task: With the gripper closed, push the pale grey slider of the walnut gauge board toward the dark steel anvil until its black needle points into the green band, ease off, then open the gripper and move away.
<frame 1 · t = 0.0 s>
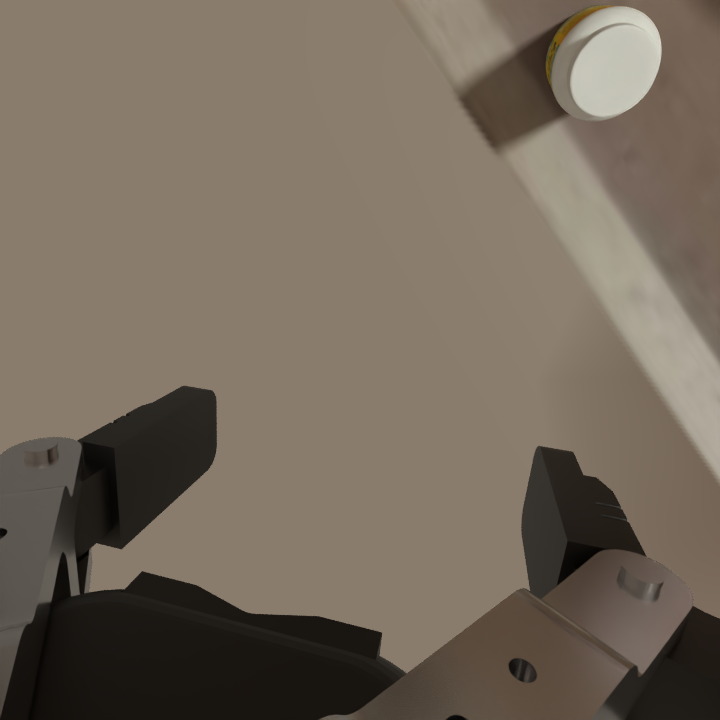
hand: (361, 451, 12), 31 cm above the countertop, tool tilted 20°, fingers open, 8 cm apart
supplement bottle: (588, 54, 31), on the countertop
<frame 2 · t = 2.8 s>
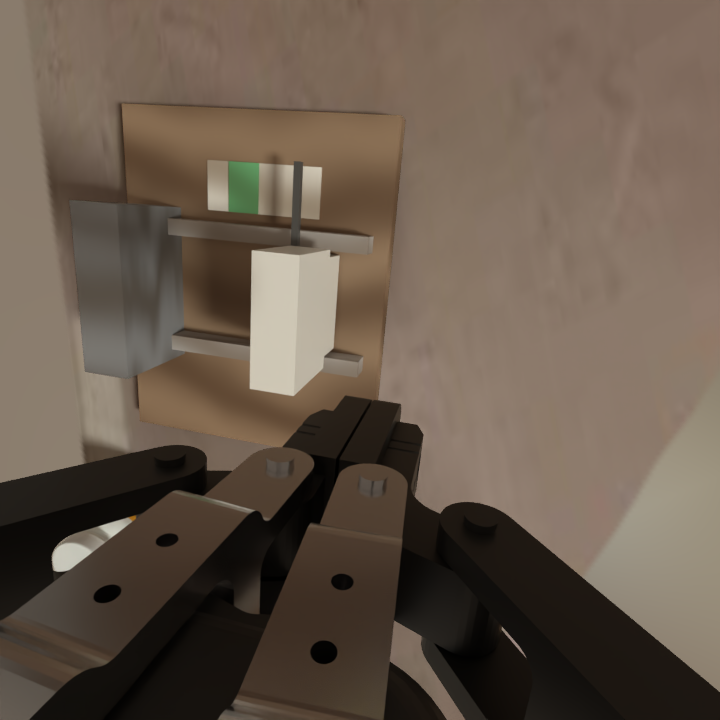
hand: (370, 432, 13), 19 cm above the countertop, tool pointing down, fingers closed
gauge slider: (287, 270, 27), point 6 cm above the countertop, slide at 0.0 cm
gauge board: (260, 289, 33), on the countertop
supplement bottle: (168, 491, 40), on the countertop
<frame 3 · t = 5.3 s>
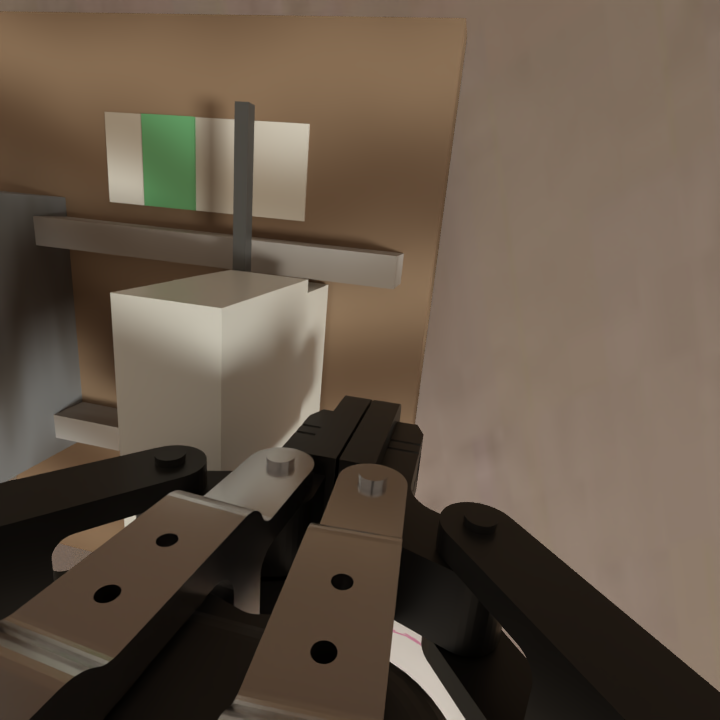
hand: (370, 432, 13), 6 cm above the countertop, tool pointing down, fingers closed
teacup: (373, 698, 24), on the countertop
gauge slider: (221, 319, 13), point 6 cm above the countertop, slide at 0.5 cm, touching gripper
gauge board: (207, 335, 20), on the countertop
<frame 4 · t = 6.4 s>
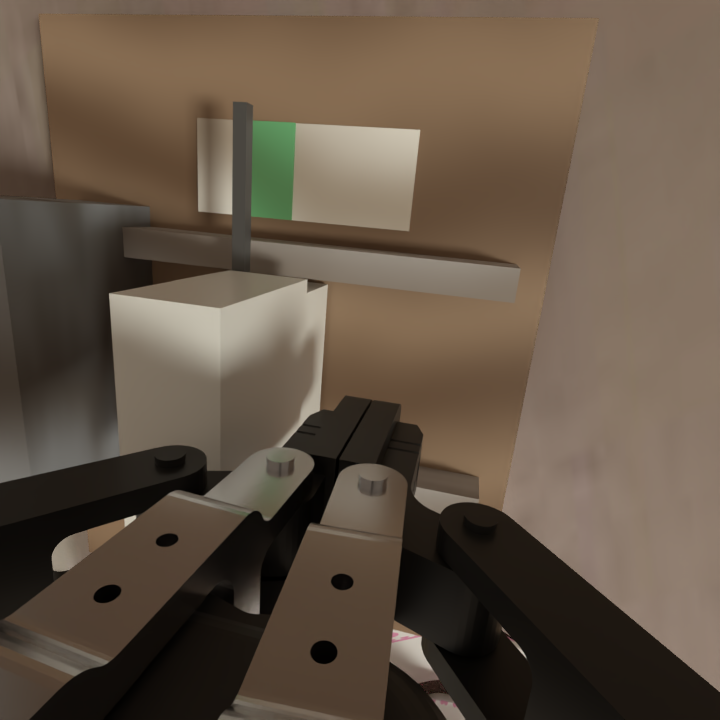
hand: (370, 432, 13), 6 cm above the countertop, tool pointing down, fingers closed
teacup: (450, 713, 23), on the countertop
gauge slider: (220, 320, 13), point 6 cm above the countertop, slide at 4.1 cm, touching gripper
gauge board: (288, 348, 19), on the countertop
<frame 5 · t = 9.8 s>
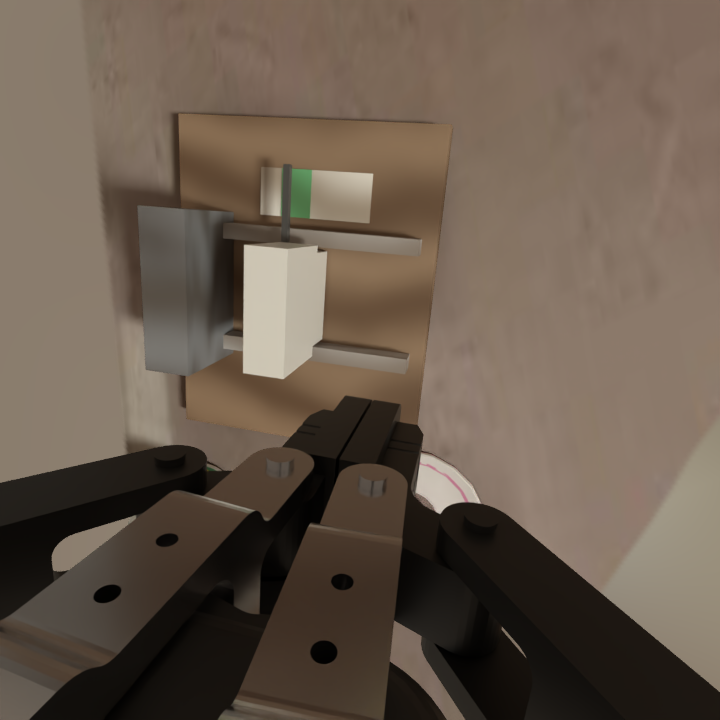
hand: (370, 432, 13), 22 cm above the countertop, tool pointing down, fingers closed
teacup: (407, 515, 38), on the countertop
gauge slider: (277, 264, 29), point 6 cm above the countertop, slide at 4.2 cm
gauge board: (307, 290, 35), on the countertop
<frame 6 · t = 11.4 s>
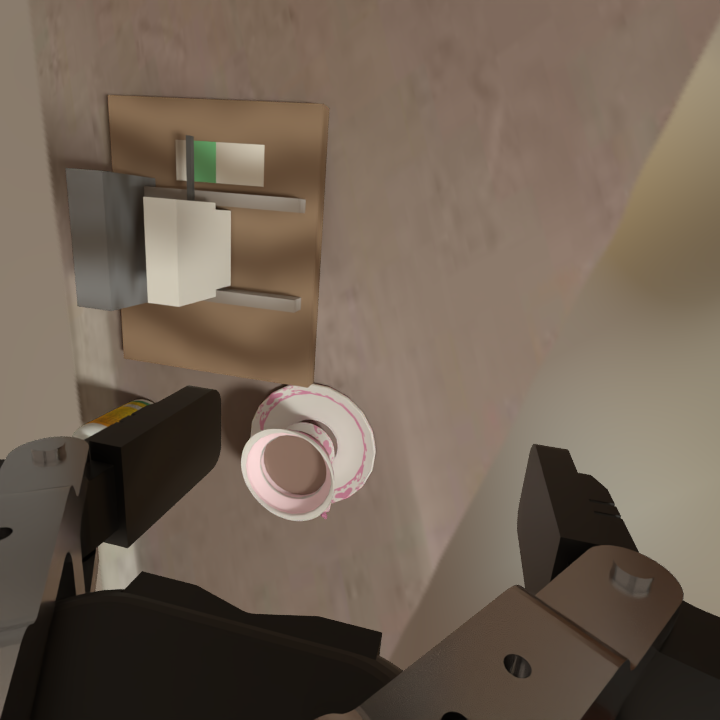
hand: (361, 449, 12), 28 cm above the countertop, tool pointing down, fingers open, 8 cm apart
teacup: (313, 442, 45), on the countertop
gauge slider: (181, 217, 35), point 6 cm above the countertop, slide at 4.2 cm
gauge board: (220, 245, 41), on the countertop
supplement bottle: (148, 422, 48), on the countertop
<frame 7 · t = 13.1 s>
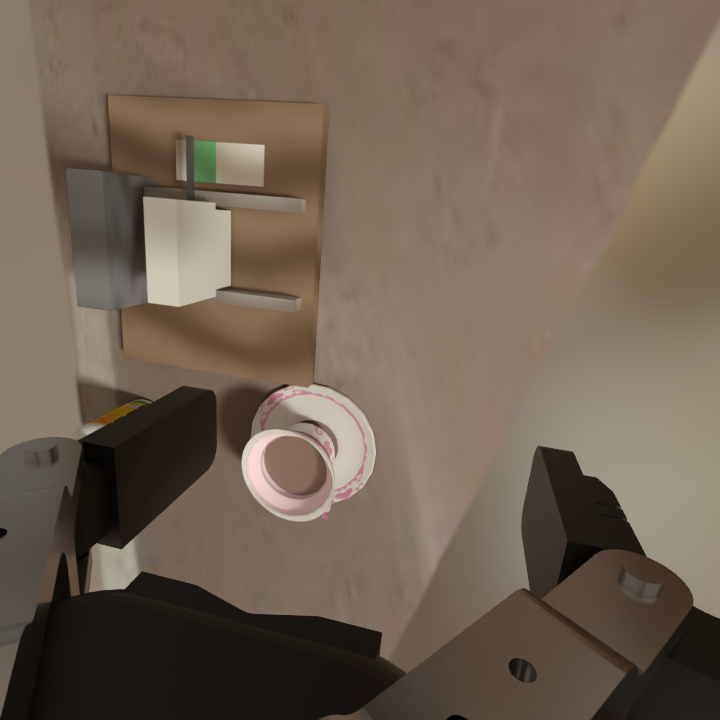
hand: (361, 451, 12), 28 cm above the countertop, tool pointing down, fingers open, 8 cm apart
teacup: (314, 442, 45), on the countertop
gauge slider: (181, 217, 35), point 6 cm above the countertop, slide at 4.2 cm
gauge board: (220, 246, 41), on the countertop
supplement bottle: (148, 422, 48), on the countertop
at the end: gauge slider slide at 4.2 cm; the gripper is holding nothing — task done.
